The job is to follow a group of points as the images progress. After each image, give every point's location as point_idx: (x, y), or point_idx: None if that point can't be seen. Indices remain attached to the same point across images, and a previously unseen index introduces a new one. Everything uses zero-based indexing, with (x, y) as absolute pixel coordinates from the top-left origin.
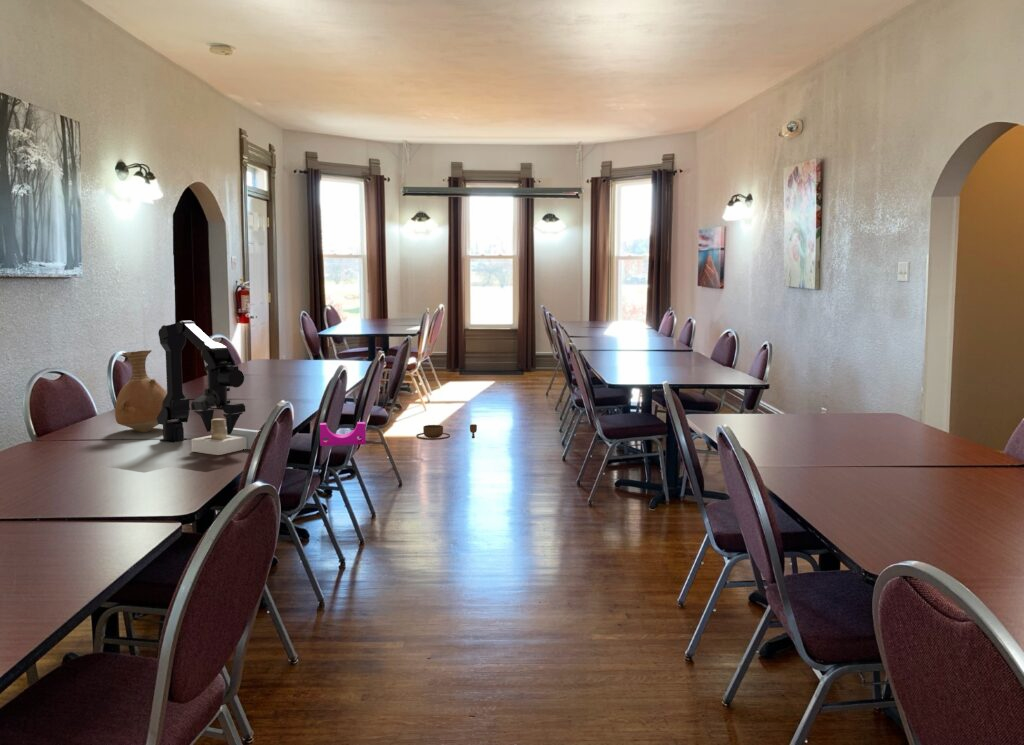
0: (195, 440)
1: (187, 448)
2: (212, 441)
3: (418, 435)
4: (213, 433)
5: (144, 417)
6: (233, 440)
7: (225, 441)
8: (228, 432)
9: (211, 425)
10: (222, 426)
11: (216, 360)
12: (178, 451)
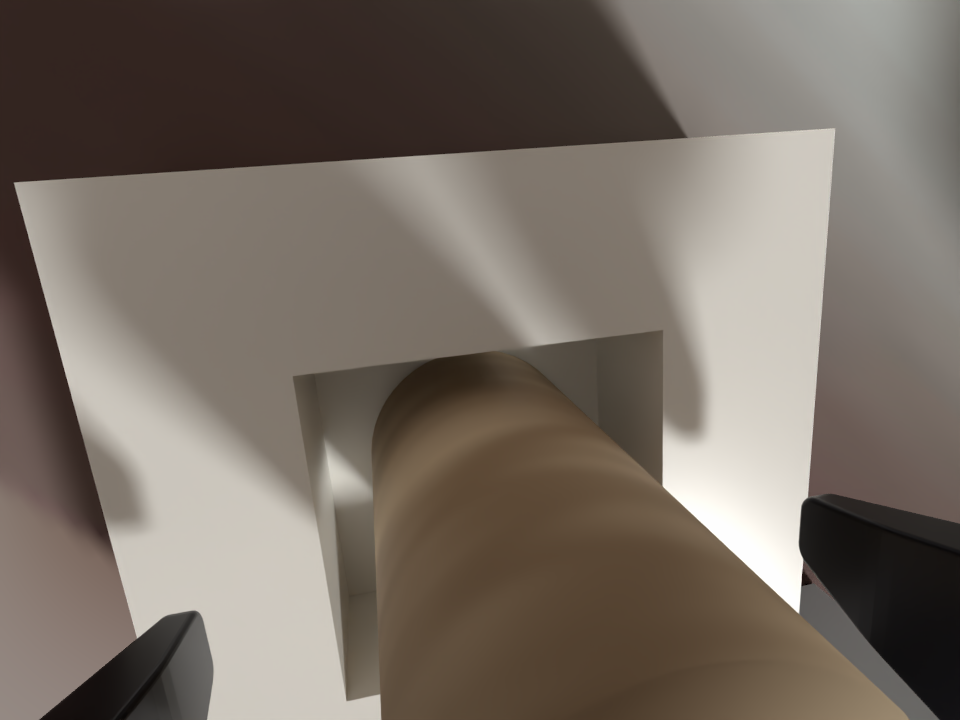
0: (723, 137)
1: (902, 280)
2: (272, 203)
3: None
4: (522, 434)
5: None
6: (136, 590)
7: (76, 396)
8: (139, 640)
9: (699, 536)
10: (385, 717)
11: None
12: (870, 76)
